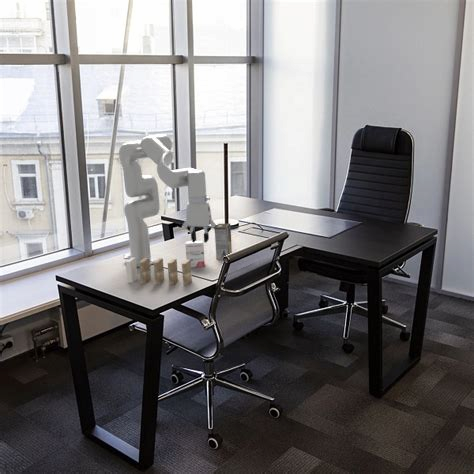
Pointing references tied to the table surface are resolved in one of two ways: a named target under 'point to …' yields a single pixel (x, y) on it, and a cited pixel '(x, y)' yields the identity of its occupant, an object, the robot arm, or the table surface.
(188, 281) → the domino
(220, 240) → the coffee box
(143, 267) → the domino
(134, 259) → the cream domino
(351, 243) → the table surface
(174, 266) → the domino
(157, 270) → the domino
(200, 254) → the ink box
